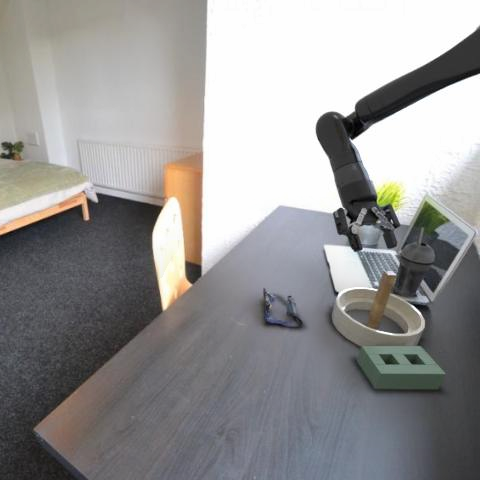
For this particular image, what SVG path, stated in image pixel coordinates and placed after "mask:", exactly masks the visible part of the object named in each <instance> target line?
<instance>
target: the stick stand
mask: <svg viewBox="0 0 480 480" xmlns="http://www.w3.org/2000/svg"><path fill="white" fill-rule="evenodd" d="M356 362H357V364H358V365H359V367H360V368H361V370H362V372H363V373H364V375H365V376H366V377H367V379H368V381H369V382H370V384H371V385H372V387H373V389H374V390H439V388H440V387H441V384H443V383H442V382H443V380H444V379H445V377H446V374H447V373H446V371H444V369H442V368H441V367H440V366H439V365H438V363H437V362H436V361H435V360H434V359H433V358H432V357H431V356H430V354H429V353H428V352H427V351H426V350H425V349H424V348H423V346H421V345H417V346H360V350H359V352H358V356H357V358H356Z"/></svg>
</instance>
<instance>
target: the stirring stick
mask: <svg viewBox="0 0 480 480" xmlns="http://www.w3.org/2000/svg"><path fill="white" fill-rule="evenodd" d="M396 277H397V274H396V273H395V272H394V271H393V270H383V271H382V275H381V278H380V281H379V284H378V287H377V293H376V296H375V299H374V302H373V305H372V308H371V311H370V310H369V315H368V317H367V321H366V323H365V324H366V326H367V327H370V328H372V329H375V330H378V329H379V327H380V324H381V321H382V319H383V316H384V315H383V313H384V310H385V307H386V305H387V302H388V299H389V296H390V293H391V294H392V290H393V289H394V286H395V281H396Z"/></svg>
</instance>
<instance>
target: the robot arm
mask: <svg viewBox="0 0 480 480" xmlns="http://www.w3.org/2000/svg"><path fill="white" fill-rule="evenodd" d="M478 75H480V24H479V25H478V26H477V27H476V28H475V30H474V31H473V32H471V33H469V35H467V36H466V37H465V38H463V39H462V40H461V41H459V42H458V43H457V44H455V45H453V47H451V48H450V49H448V50H447V51H445V52H443V53H442V54H440V55H438V56H437V57H436V58H434V59H432V60H430V61H428V62H427V63H425V64H423V65H421V66H418V67H417V68H415V69H413V70H411V71H409V72H407V73H405V74H402V75H401V76H398V77H397V78H395V79H392V80H391V81H389V82H387V83H385V84H384V85H382V86H380V87H378V88H377V89H375V90H373V91H371V92H369V93H368V94H366V95H365V96H362V97H361V98H359V99H358V100H357V101H356V102H355V104H354V110H353V111H352V112H351V113H350V114H348V115H346V116H345V115H344V114H342V113H340V112H338V111H334V110H331V111H326V112H324V113H322V115H320V116H319V117H318V119H317V121H316V123H315V136H316V139H317V141H318V143H319V145H320V147H321V148H322V150H323V152H324V154H325V155H326V157H327V159H328V161H329V165H330V169H331V171H332V174H333V179H334V184H335V188H336V191H337V194H338V197H339V200H340V202H341V207H339V208H338V209H336V210H334V211H333V212H332V217H333V220H334V225H335V228H336V232H337V235H338V236H345V237H347V239H348V242H349V246H350V249H351V250H352V251H353V252H354V253H358V252H361V251H363V249H364V248H363V245H362V241H361V239H360V234H359V233H358V230H359V228H360V227H363V226H367V227H370V226H372V227H373V228H375V229H378V230H379V231H380V232H381V233H382V238H383V239H384V240H383V241H384V243H385V247H386V248H387V249H388V250H392V249H394V248H396V247H398V239H397V238H396V234H395V230H396V229H398V228H401V222H400V221H399V218H398V216H397V213H396V211H395V209H394V207H393V204H391V203H387V204H385V205H382V206H381V205H380V204H379V203H378V197H379V196H378V193H377V190H376V187H375V184H374V181H373V179H372V176H371V174H370V171H369V169H368V167H367V166H366V163H365V161H364V158H363V155H362V152H361V150H360V148H359V146H358V145H356V143H354V140H355V139H357V138H359V136H361V135H362V134H363V133H365V132H366V131H368V130H369V129H370V128H371V127H372V126H374V125H375V124H377V123H380V122H382V121H384V120H385V119H388V118H390V117H392V116H394V115H396V114H397V113H400V112H402V111H403V110H406V109H407V108H409V107H411V106H413V105H415V104H417V103H418V102H420V101H422V100H424V99H426V98H428V97H429V96H431V95H434V94H435V93H438V92H440V91H442V90H444V89H446V88H449V87H450V86H453V85H456V84H458V83H460V82H462V81H465V80H468V79H470V78H473V77H475V76H478ZM347 218H348V219H349V221H348V219H347Z"/></svg>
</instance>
